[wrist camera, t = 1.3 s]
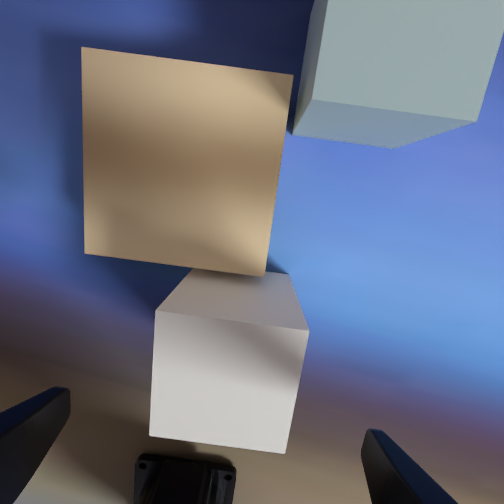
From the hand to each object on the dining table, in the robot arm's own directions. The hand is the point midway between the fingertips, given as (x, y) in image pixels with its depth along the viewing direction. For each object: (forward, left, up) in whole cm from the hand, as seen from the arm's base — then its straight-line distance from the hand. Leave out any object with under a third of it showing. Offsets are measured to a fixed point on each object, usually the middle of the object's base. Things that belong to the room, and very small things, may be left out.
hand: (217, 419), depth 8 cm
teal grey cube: (+12, -4, -7) cm, 15 cm away
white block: (0, 0, -7) cm, 7 cm away
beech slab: (+7, +3, -8) cm, 11 cm away
